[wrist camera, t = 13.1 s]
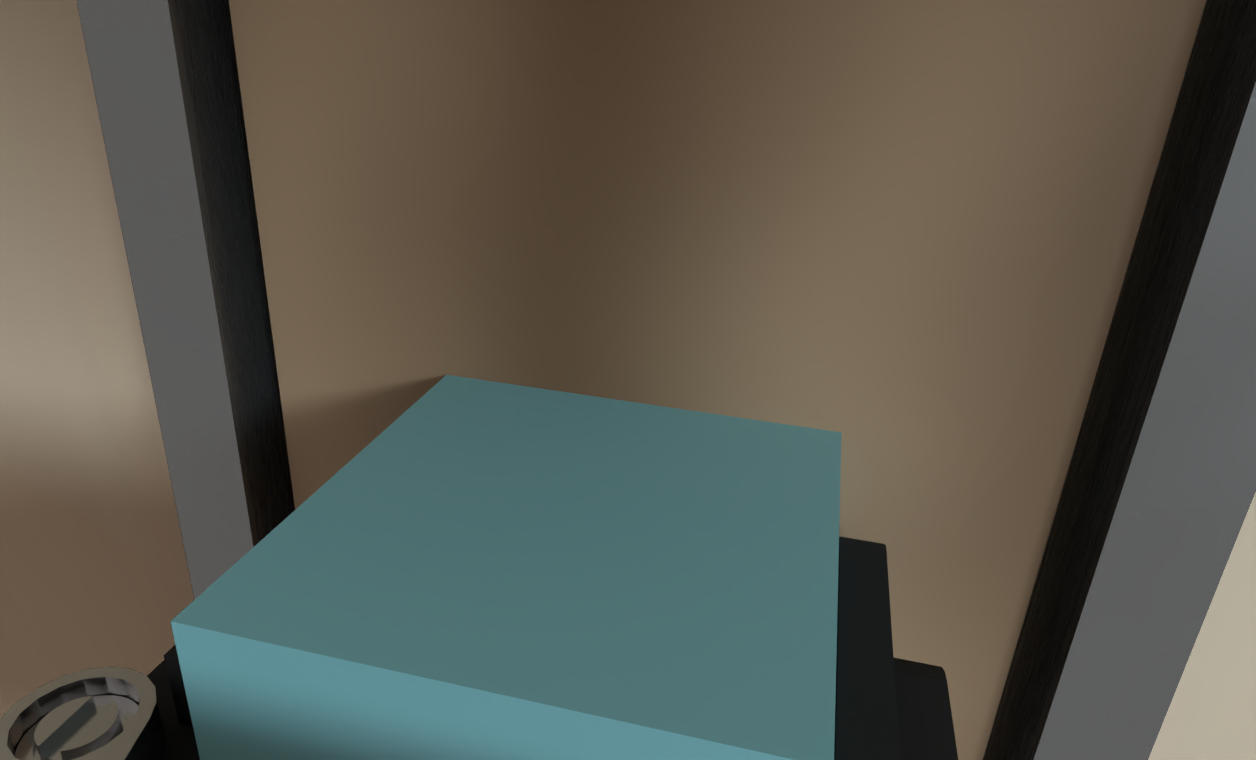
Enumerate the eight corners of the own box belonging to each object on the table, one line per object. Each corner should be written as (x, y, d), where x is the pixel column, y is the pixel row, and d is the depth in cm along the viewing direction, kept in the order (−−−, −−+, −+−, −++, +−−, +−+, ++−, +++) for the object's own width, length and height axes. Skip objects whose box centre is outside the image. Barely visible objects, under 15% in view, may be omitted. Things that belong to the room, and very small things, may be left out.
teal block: (841, 432, 10) (834, 768, 6) (788, 746, 12) (752, 1177, 8) (446, 374, 11) (169, 622, 7) (459, 674, 13) (255, 1018, 9)
